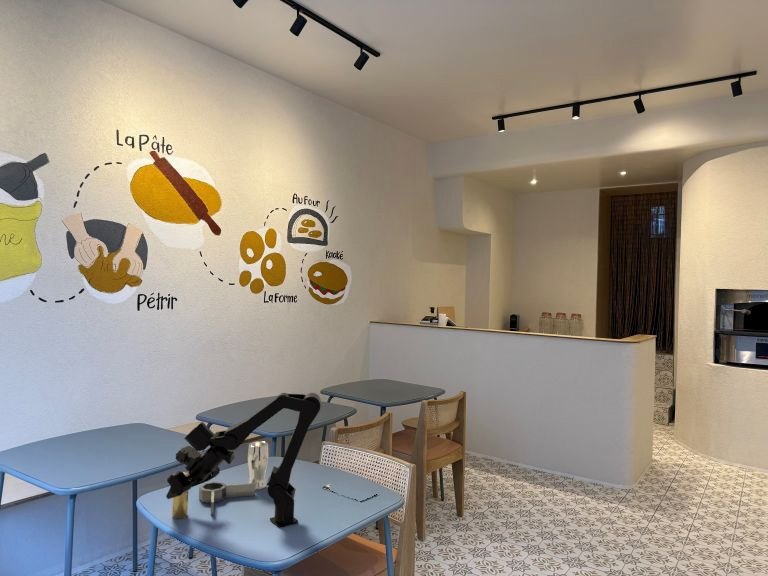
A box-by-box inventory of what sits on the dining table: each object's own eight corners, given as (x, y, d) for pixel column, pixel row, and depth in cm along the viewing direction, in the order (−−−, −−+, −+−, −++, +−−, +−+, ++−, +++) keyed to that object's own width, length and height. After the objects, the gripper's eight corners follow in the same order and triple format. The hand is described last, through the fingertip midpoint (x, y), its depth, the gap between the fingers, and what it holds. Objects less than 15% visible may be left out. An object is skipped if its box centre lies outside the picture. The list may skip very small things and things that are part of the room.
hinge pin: (189, 516, 165) (190, 475, 165) (174, 520, 162) (175, 478, 162) (185, 511, 168) (186, 471, 168) (170, 514, 165) (171, 473, 166)
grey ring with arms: (265, 503, 177) (266, 490, 177) (211, 515, 166) (211, 502, 166) (245, 487, 190) (245, 475, 190) (193, 497, 179) (193, 485, 179)
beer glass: (254, 491, 186) (255, 448, 186) (242, 486, 191) (244, 443, 191) (271, 486, 191) (272, 444, 191) (259, 481, 196) (261, 440, 196)
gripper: (212, 431, 173) (182, 462, 176) (173, 447, 155) (140, 481, 158) (233, 459, 170) (202, 490, 174) (196, 479, 153) (162, 512, 156)
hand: (177, 492), depth 165 cm, fingers open, 9 cm apart
